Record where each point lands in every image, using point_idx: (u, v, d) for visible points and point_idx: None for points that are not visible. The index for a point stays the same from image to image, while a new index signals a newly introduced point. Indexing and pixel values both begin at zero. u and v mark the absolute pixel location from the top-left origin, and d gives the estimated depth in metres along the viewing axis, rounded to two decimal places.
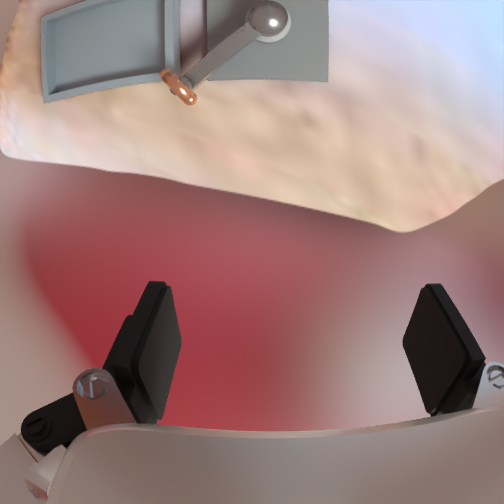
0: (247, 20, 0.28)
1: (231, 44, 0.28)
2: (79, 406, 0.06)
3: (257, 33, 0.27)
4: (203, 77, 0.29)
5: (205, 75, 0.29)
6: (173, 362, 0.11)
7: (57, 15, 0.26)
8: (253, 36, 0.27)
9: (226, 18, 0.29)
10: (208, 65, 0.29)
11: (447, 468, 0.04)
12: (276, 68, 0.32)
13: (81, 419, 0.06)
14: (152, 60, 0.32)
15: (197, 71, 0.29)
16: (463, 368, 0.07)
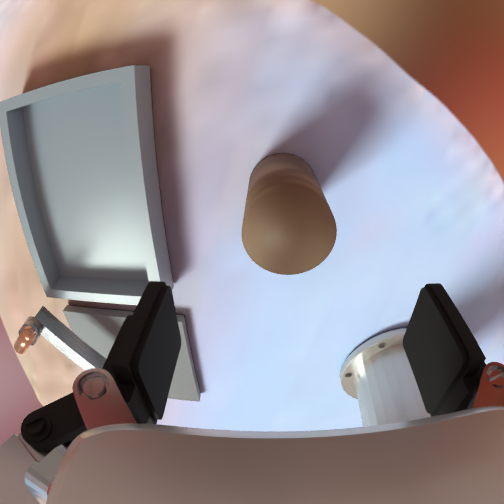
0: None
1: (85, 365, 0.28)
2: (79, 406, 0.06)
3: None
4: (48, 340, 0.27)
5: (51, 342, 0.27)
6: (173, 362, 0.11)
7: (125, 109, 0.18)
8: None
9: None
10: (60, 346, 0.27)
11: (447, 469, 0.04)
12: None
13: (81, 419, 0.06)
14: (68, 257, 0.27)
15: (51, 337, 0.26)
16: (463, 368, 0.07)
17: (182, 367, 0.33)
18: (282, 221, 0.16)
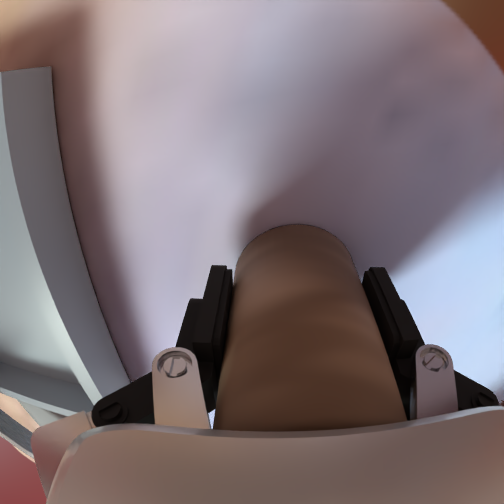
0: None
1: None
2: (153, 380, 0.07)
3: None
4: None
5: (1, 436, 0.16)
6: None
7: None
8: None
9: None
10: (11, 442, 0.17)
11: (447, 469, 0.04)
12: None
13: (151, 392, 0.08)
14: (0, 344, 0.17)
15: None
16: (395, 348, 0.08)
17: None
18: None
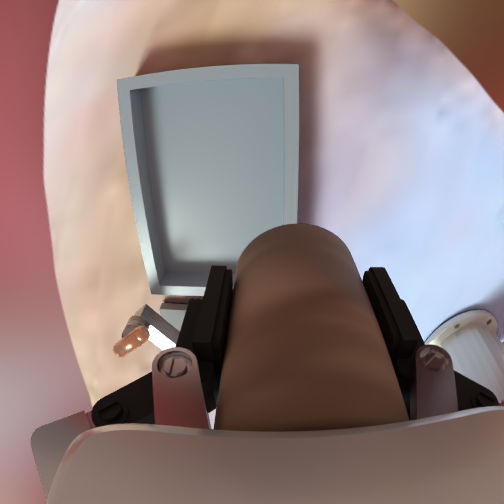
0: None
1: None
2: (153, 380, 0.07)
3: None
4: (151, 340, 0.29)
5: (154, 342, 0.29)
6: None
7: (287, 105, 0.20)
8: None
9: None
10: (165, 346, 0.29)
11: (447, 469, 0.04)
12: None
13: (151, 392, 0.08)
14: (180, 251, 0.29)
15: (157, 336, 0.28)
16: (395, 348, 0.08)
17: None
18: None
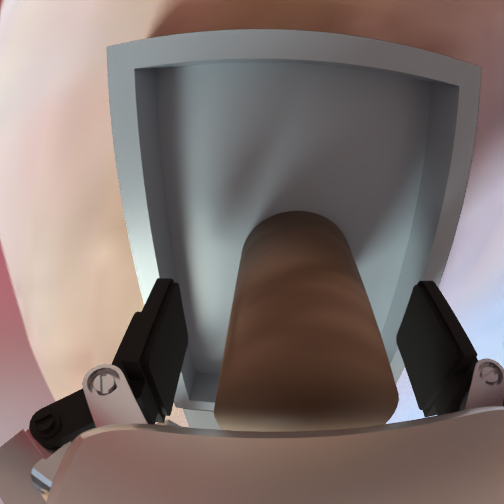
0: None
1: None
2: (88, 401, 0.06)
3: None
4: None
5: None
6: (181, 359, 0.11)
7: (459, 139, 0.09)
8: None
9: None
10: None
11: (447, 469, 0.04)
12: None
13: (90, 414, 0.07)
14: (220, 350, 0.18)
15: None
16: (455, 364, 0.07)
17: None
18: (293, 404, 0.07)
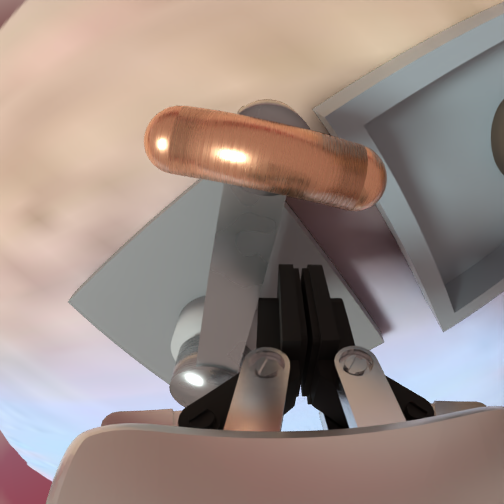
0: (252, 340, 0.15)
1: (227, 320, 0.12)
2: (240, 375, 0.07)
3: (199, 363, 0.13)
4: (225, 200, 0.09)
5: (224, 210, 0.09)
6: None
7: None
8: (200, 355, 0.13)
9: None
10: (238, 243, 0.10)
11: (447, 469, 0.04)
12: (136, 270, 0.16)
13: (234, 385, 0.08)
14: (411, 125, 0.12)
15: (257, 206, 0.09)
16: (315, 348, 0.08)
17: None
18: None
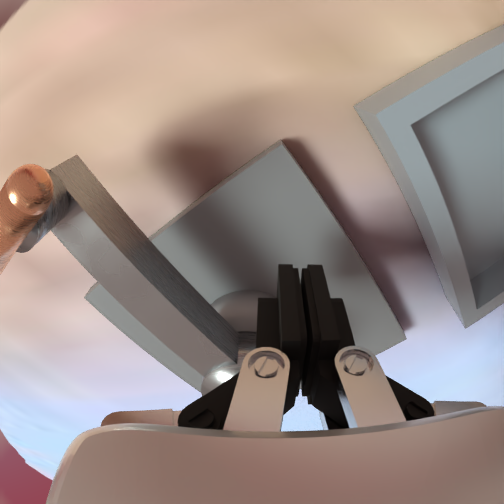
0: None
1: (170, 327, 0.12)
2: (240, 375, 0.07)
3: (202, 373, 0.13)
4: (73, 251, 0.10)
5: (78, 258, 0.10)
6: None
7: None
8: (194, 366, 0.13)
9: (332, 296, 0.16)
10: (106, 269, 0.10)
11: (447, 469, 0.04)
12: None
13: (234, 385, 0.08)
14: (445, 128, 0.12)
15: (86, 238, 0.10)
16: (316, 348, 0.08)
17: None
18: None
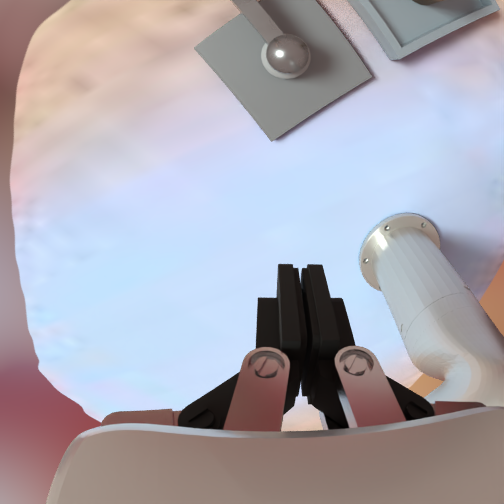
0: None
1: (257, 15, 0.24)
2: (240, 375, 0.07)
3: (268, 41, 0.25)
4: None
5: None
6: None
7: (485, 9, 0.21)
8: (265, 37, 0.25)
9: (324, 41, 0.28)
10: None
11: (448, 468, 0.04)
12: (245, 24, 0.28)
13: (234, 385, 0.08)
14: None
15: None
16: (316, 348, 0.08)
17: (316, 100, 0.32)
18: None
